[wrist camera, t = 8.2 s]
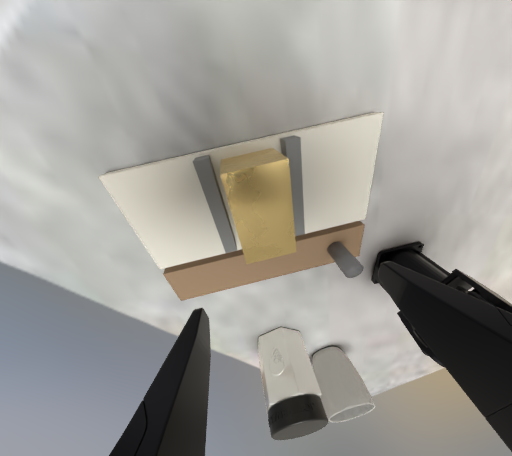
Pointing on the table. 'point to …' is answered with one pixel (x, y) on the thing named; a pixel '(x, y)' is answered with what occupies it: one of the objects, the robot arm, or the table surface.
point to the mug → (340, 386)
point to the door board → (220, 217)
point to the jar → (289, 385)
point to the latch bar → (260, 203)
